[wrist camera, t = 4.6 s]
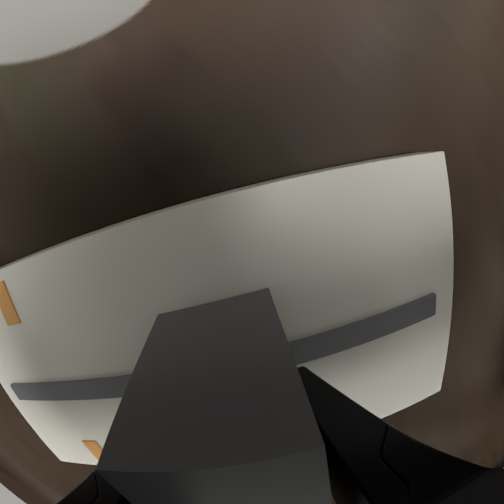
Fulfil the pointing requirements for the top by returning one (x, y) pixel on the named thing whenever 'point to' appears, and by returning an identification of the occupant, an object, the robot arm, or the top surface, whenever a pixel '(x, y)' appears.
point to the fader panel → (241, 291)
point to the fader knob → (217, 413)
